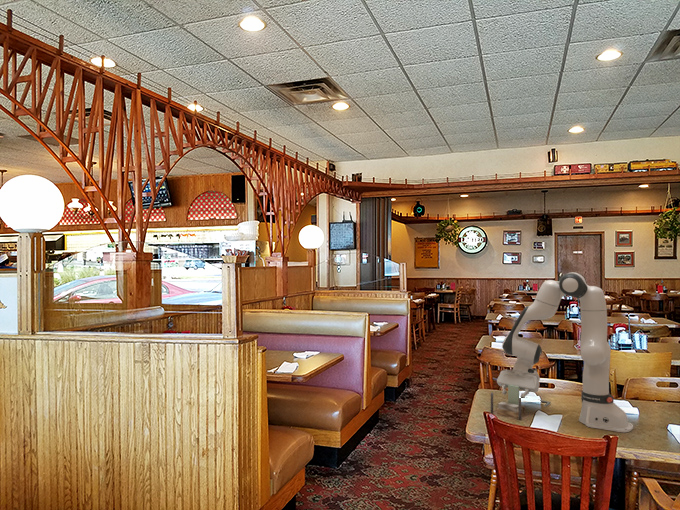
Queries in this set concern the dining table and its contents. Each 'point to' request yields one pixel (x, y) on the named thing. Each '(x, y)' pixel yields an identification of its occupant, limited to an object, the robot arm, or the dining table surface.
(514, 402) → the grey-green rectangular block
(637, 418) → the dining table surface
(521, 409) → the rack
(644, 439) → the dining table surface
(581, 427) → the dining table surface
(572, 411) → the dining table surface
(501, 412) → the offcut lower
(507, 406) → the offcut upper
